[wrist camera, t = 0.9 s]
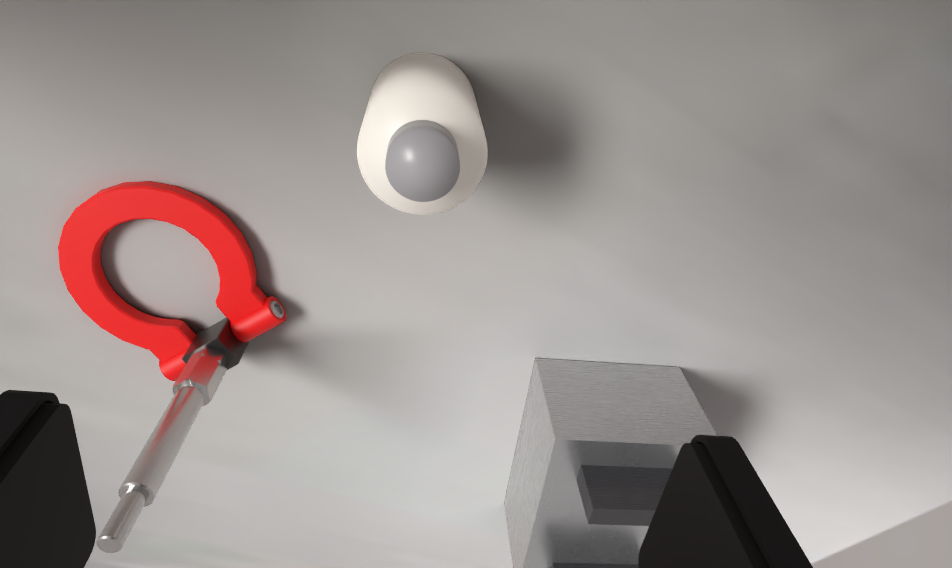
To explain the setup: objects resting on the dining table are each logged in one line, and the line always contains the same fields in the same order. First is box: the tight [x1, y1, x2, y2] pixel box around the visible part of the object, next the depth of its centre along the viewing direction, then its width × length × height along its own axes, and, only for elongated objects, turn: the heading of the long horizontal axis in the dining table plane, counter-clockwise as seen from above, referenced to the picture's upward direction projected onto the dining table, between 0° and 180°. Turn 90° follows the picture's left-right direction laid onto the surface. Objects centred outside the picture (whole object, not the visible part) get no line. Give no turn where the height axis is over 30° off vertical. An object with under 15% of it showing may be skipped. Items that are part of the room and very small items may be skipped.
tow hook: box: [58, 181, 286, 553], centre depth 24 cm, size 8×13×9 cm
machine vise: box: [504, 358, 717, 568], centre depth 34 cm, size 13×8×8 cm, turn 173°
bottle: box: [357, 53, 488, 215], centre depth 24 cm, size 4×4×7 cm
